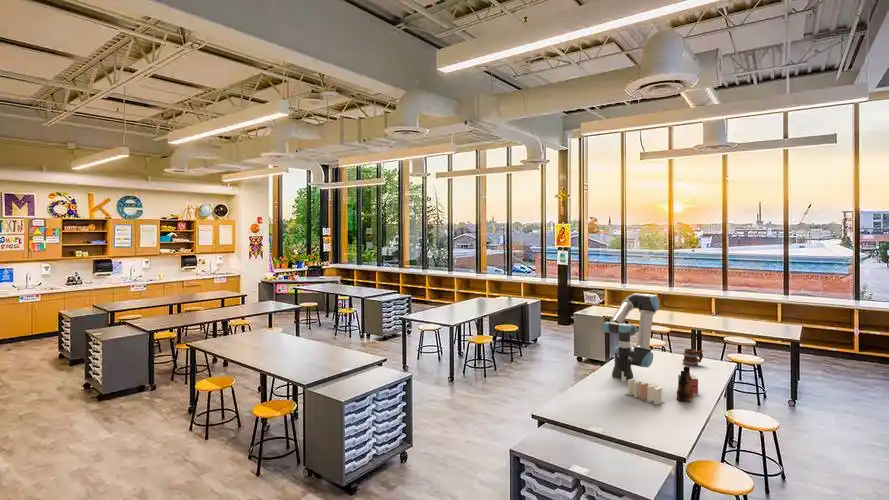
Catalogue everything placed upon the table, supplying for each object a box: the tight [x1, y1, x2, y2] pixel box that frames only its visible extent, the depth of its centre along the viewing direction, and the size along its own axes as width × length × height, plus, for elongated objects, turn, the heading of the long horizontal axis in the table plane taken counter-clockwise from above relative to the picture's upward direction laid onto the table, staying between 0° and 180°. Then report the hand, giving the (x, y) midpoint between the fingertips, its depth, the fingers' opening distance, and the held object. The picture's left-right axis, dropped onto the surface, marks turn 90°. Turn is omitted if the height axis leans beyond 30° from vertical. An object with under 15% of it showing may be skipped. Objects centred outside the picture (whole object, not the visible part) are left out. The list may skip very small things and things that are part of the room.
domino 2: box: [634, 380, 642, 397], centre depth 315 cm, size 2×5×10 cm, turn 121°
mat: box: [624, 393, 665, 407], centre depth 311 cm, size 24×10×1 cm, turn 30°
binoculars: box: [675, 365, 694, 404], centre depth 311 cm, size 18×8×20 cm, turn 143°
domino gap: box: [641, 382, 649, 400], centre depth 310 cm, size 2×5×10 cm, turn 120°
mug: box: [682, 348, 704, 367], centre depth 389 cm, size 12×14×15 cm
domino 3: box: [647, 384, 656, 402], centre depth 306 cm, size 2×5×10 cm, turn 121°
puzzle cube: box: [677, 373, 699, 394], centre depth 326 cm, size 10×10×10 cm
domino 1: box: [627, 378, 636, 395], centre depth 319 cm, size 2×5×10 cm, turn 120°
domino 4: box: [654, 387, 663, 405], centre depth 302 cm, size 2×5×10 cm, turn 121°
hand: (623, 380), depth 324 cm, fingers closed
